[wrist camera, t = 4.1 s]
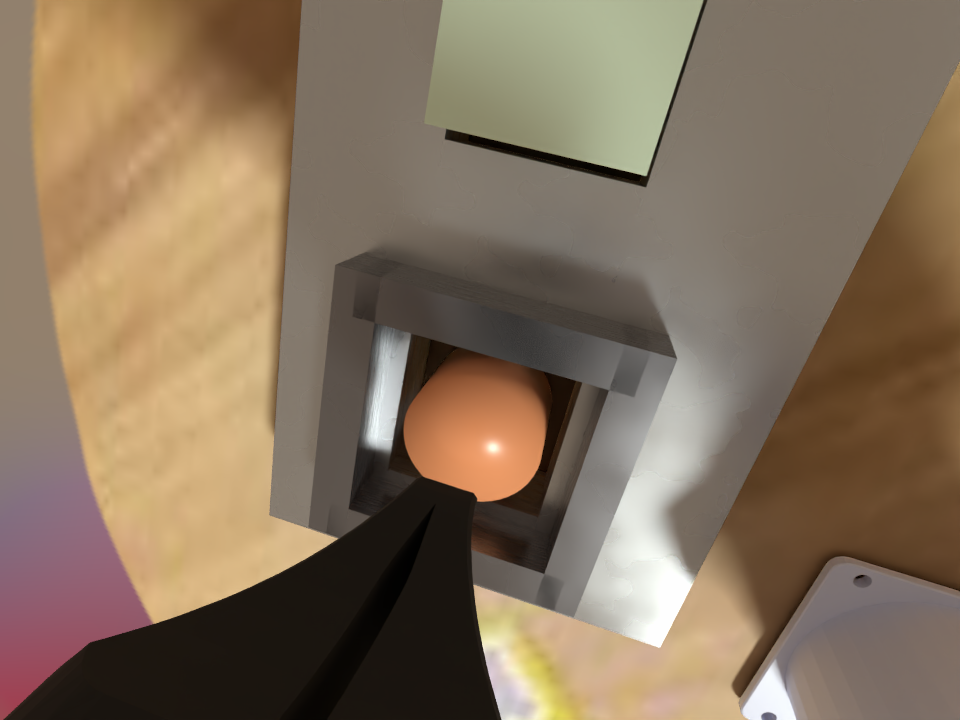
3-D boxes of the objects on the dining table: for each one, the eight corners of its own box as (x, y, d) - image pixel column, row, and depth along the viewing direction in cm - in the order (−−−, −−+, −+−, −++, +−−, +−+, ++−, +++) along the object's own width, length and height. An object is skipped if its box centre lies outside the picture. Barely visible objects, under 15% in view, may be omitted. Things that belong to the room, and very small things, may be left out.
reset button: (566, 360, 16) (559, 400, 14) (534, 464, 18) (522, 518, 15) (445, 326, 17) (415, 358, 14) (424, 431, 18) (394, 477, 16)
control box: (1023, -192, 11) (1255, -383, 7) (653, 589, 19) (665, 696, 16) (377, -285, 12) (275, -482, 8) (305, 475, 21) (239, 547, 17)
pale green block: (702, -43, 11) (742, -121, 8) (635, 169, 13) (646, 175, 10) (506, -79, 12) (468, -168, 9) (467, 130, 14) (423, 123, 10)
